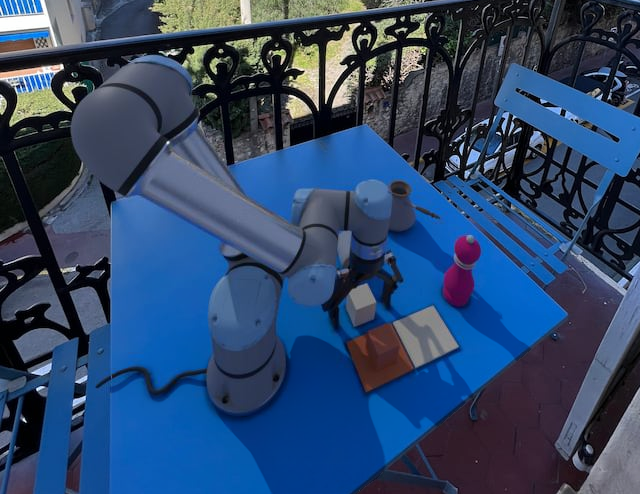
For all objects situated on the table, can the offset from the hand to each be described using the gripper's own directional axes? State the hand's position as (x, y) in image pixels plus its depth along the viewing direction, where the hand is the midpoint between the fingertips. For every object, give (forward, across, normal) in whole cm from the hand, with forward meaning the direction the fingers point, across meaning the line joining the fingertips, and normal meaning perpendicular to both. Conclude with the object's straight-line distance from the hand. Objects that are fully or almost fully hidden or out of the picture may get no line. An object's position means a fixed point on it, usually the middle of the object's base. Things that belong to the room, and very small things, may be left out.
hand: (360, 312), depth 93 cm
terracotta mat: (0, 0, -10) cm, 10 cm away
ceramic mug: (0, +5, +14) cm, 14 cm away
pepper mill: (0, +24, -4) cm, 24 cm away
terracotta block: (0, 0, -10) cm, 10 cm away
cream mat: (0, +11, -10) cm, 15 cm away
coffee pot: (0, +22, +17) cm, 27 cm away
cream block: (0, 0, 0) cm, 0 cm away
